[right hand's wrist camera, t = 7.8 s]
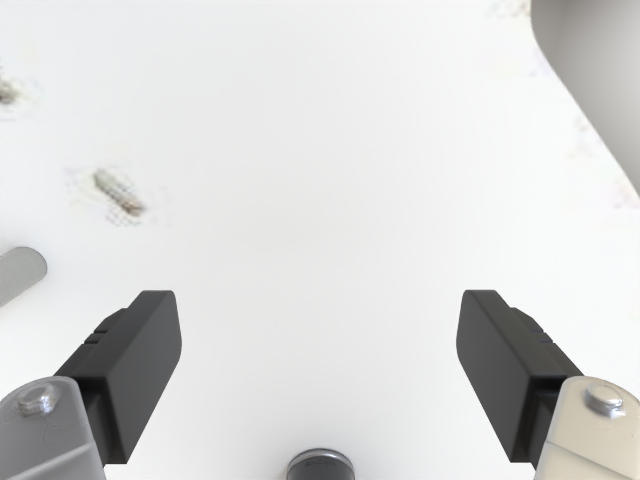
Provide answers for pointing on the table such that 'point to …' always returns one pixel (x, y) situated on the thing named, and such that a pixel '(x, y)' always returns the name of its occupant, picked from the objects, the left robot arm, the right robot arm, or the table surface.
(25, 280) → the bottle
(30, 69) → the table surface
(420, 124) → the table surface
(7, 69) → the table surface
